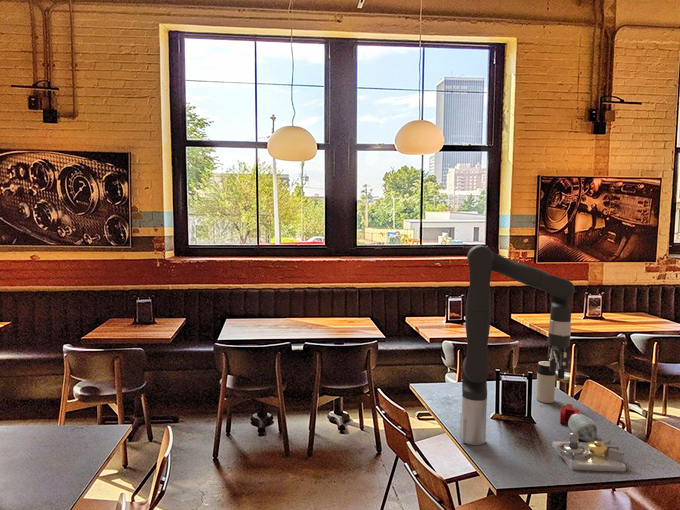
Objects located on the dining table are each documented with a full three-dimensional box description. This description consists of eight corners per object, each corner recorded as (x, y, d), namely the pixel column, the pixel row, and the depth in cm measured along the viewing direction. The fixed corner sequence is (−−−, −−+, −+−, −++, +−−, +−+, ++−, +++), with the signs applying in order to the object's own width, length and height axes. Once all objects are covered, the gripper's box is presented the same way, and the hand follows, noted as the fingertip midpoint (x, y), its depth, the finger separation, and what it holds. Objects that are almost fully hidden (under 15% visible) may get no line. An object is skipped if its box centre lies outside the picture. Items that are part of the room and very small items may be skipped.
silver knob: (567, 456, 181) (568, 436, 181) (560, 448, 188) (561, 429, 187) (586, 456, 181) (586, 437, 181) (578, 448, 187) (579, 430, 187)
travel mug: (557, 403, 240) (558, 365, 239) (539, 403, 240) (541, 365, 239) (550, 397, 248) (551, 361, 247) (533, 397, 248) (535, 360, 247)
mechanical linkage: (578, 428, 212) (579, 416, 212) (560, 425, 215) (560, 413, 215) (577, 414, 227) (578, 403, 226) (560, 412, 230) (560, 401, 229)
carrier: (568, 469, 176) (568, 451, 175) (549, 446, 194) (549, 430, 193) (629, 471, 175) (630, 454, 174) (605, 448, 193) (606, 432, 192)
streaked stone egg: (606, 437, 195) (592, 412, 197) (582, 447, 195) (569, 422, 198) (595, 432, 208) (582, 408, 210) (573, 441, 208) (560, 418, 211)
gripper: (542, 327, 197) (539, 369, 198) (555, 336, 183) (552, 380, 184) (562, 328, 196) (559, 370, 198) (577, 337, 182) (574, 382, 183)
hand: (556, 375), depth 191 cm, fingers open, 8 cm apart
